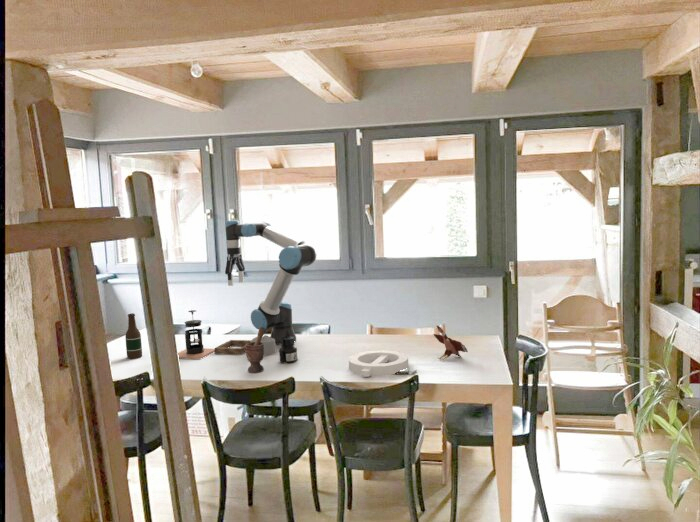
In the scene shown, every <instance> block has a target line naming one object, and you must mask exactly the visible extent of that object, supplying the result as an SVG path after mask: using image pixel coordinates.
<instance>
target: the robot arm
mask: <svg viewBox="0 0 700 522" xmlns="http://www.w3.org/2000/svg"><path fill="white" fill-rule="evenodd" d="M225 235H226V236H225V237H226V247H227V248H226V250H227V252H226V253H227V254H228V255H229V256H226V264H225V271H224V273H225V275H227V285H228V286H229V287H230V286H231V287H232V286H234V278H233V269H234V266H235V265H236V267H237V269H238V271H237V272H238V283H245V281H244V279H245V278H244V272H245V270H246V268H245V264H244V262H243V261H244V260H243V256H242V254H241V252H242V251H241V250H242V249H241V239H240V238H241V237H242V238H244V237H245V238H250V237H257V236H258V237H259V236H260V237H262V238H264V239H266V241H267V240H268V241H269V242H272V243H273V244H275V245H277V246H278V247H281V248H282V249H281V250H280V252H279V255H278V263H279V264H278V266H279V270H278V271H277V274H276V276H275V279H274V281H273V283H272V285H271V287H270V289H269V291H268V293H267V294H266V295H267V296H266V297H265V300H262V301H261V302H259V303H260V304H259V306H258V308H257V309H256V308H255V309H254V310H252V311H251V313H250V321H251V324H252V326H253V327H254V328H255V329H257V330H259V329H260V327H263V328H265V330H266V329H269V328H271V333H270V335H269V337H271V338H273V339H275V345H281V338H282V337H287V336H292V337H294V341H295V342H297V336H296V333H295V331H294V328H293V315H292V314H293V309H292V304H291V303H290V302H286V301H283V300H284V297H286V294H287V292H288V290H289V288H290V286H291V284H292V282H293V280H294V277H295V276H298V275H299V274H300V272H301V270H302V269H303V267H308V266H309V267H310V266H311V265H312V264H314V263H315V261H316V260H317V251H316V248H315V247H314V245H312V244H310V243H308V242H307V241H304V240H301V241H300V240H298V239H296V238H294V237H292V236H291V235H289V234H287V233H285V232H282V231H280V230H278V229H276V228H275V227H272V225H271V223H269V222H267V221H262V222H261V221H260V222H259V221H258V222H249V223H248V222H247V223H244V222H243V223H240V221H239V220H237V219H236V220H234V219H233V220H226V221H225Z"/></svg>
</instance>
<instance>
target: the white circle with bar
mask: <svg viewBox="0 0 700 522" xmlns="http://www.w3.org/2000/svg"><path fill="white" fill-rule="evenodd" d="M406 368H408V369H409V356H408V355H407V354H406V353H403V352H400V351H395V350H385V349H384V350H383V349H382V350H379V349H378V350H368V351H362V352H361V351H360V352H357V353H354V354H352V355H351V356H349V358H348V369H349V371H350V372H351V373H353V374H356V375H360V376H361V377H366V378H369V377H383V376H385V377H386V376H391V375H396V374H395V373H396V372H398V371H400V370H403V369H406Z"/></svg>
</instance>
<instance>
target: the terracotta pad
mask: <svg viewBox="0 0 700 522" xmlns="http://www.w3.org/2000/svg"><path fill="white" fill-rule="evenodd" d="M203 349H204V352H202V353H199V354H187V353H186V352H187V350H186V348H185V349H184V350H181V351H179V352H177V353H178V355H179V359H180V358H202V359H204V358H206V357H208V356H210V355H212V354H214V353H215V348H206V347H205V348H204V347H203ZM213 352H214V353H213ZM211 353H212V354H211ZM209 354H210V355H209ZM207 355H208V356H207ZM205 356H206V357H205ZM203 357H204V358H203ZM179 359H178V360H179ZM180 360H181V359H180Z"/></svg>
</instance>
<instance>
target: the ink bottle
mask: <svg viewBox="0 0 700 522" xmlns="http://www.w3.org/2000/svg"><path fill="white" fill-rule="evenodd" d="M278 352H279V353H278V354H279V362H280V363H282V364H293V363H296V362H297V361H298V348H297V346H296V345H295V342H294V337H292V336H287V337H282V338H281V344H280V347H279V349H278Z"/></svg>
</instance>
